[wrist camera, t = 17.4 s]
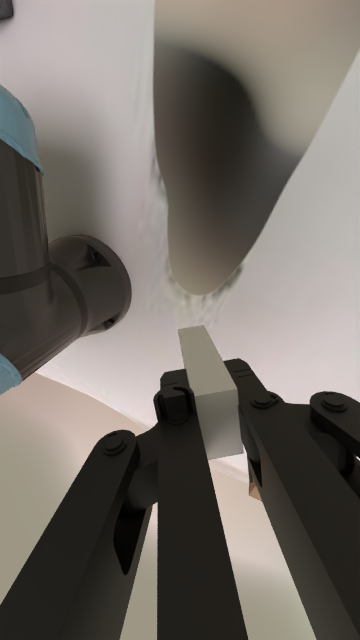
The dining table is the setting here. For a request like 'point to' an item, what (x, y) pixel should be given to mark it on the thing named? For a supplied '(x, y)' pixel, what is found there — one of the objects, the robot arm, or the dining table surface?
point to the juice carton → (5, 8)
